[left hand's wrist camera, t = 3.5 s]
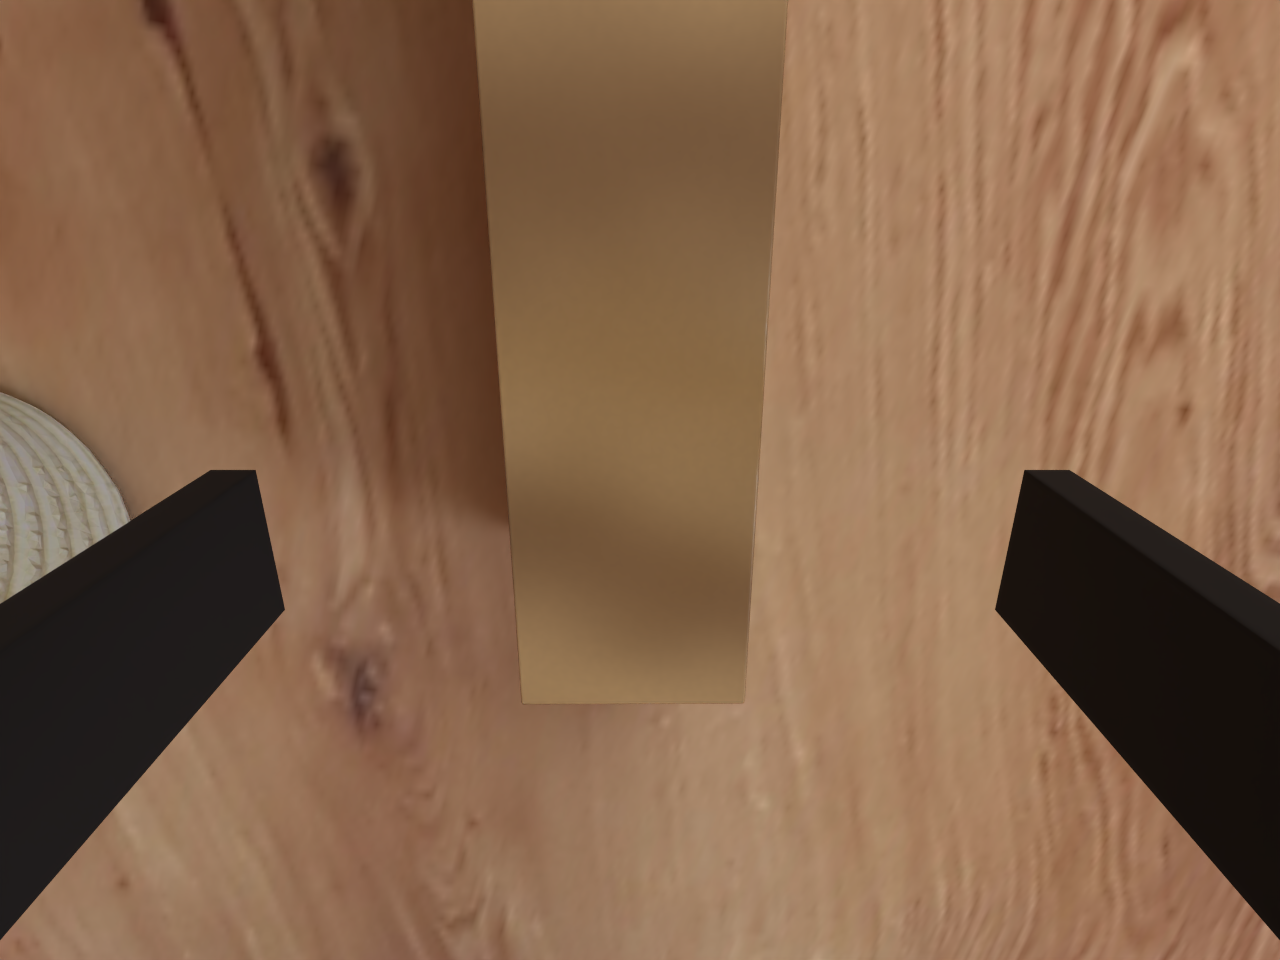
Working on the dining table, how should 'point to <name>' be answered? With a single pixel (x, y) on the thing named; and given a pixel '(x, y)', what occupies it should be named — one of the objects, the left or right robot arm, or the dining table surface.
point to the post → (631, 331)
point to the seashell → (48, 496)
